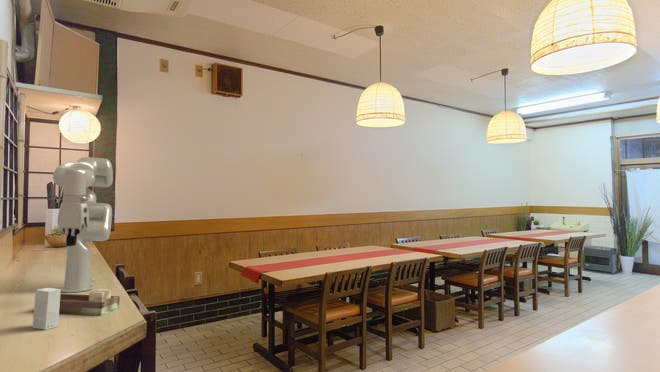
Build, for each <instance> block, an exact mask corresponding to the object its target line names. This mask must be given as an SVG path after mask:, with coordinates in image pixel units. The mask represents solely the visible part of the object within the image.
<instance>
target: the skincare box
mask: <svg viewBox="0 0 660 372" xmlns="http://www.w3.org/2000/svg"><path fill="white" fill-rule="evenodd" d="M60 294H62V292H61V289H60V288H55V287H44V288H38V289H35V296H34V307H33V316H32V317H33V318H32V329H33V328H34V329H38V330H44V331H46V330H50V329H54V328H57V327H59V319H60V314H59V307H60Z"/></svg>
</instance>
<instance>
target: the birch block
mask: <svg viewBox="0 0 660 372" xmlns="http://www.w3.org/2000/svg"><path fill="white" fill-rule="evenodd" d="M88 295H89V301H92V302H102V301H105V300H108V299H111V296H112V289H101V288H100V289H95V290H92V291H90V292H89V293H88Z"/></svg>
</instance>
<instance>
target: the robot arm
mask: <svg viewBox="0 0 660 372" xmlns="http://www.w3.org/2000/svg"><path fill="white" fill-rule="evenodd" d="M113 170H114V169H113V165H112V163H111V160H109V159H108V158H101V157H93V156H91V157H90V156H85V157H81V158H79V159H78V160H77V161H76V162H70V163H69V162H68V163H63V164H60V165H58V166H57V167H56V168H55V169H54V172H53V174H52V175H53V176H52V181H53V182H54V184H55V185H56V186H61V187H63V193H62V202H61V203H60V204H59V205H60V206H59V210H58V213H57V214H58V215H57V226H58V229H57V230H58V231H61V232H63V233H64V235H65V236H66V239H65V241H66V245H65V246H66V257H65V269H64V270H65V272H64V284H63V285H64V286H61V287H60V288H59V289H61V293H62V292H63V293H80V292H87V291H90V290H92V289H93V287H94V286H93V285H92V284H91V283H94V282H95V281H96V278H95V277H92V278H91V277H90V274H91V265H92V264H91V263H92V262H91V261H92V249H91V247H90V246H89V245H88V244H87V242H105V241H108V240H109V238H110V235H111V229H112V218H113V208H112V205H110V204H109V203H105V202H97V195H96V194H95V192H94V191H93V190H92V189H91V188H90V187H94V188H95V187H96V188H97V187H98V188H109V187H111V186H112V185H113V181H114V176H113V175H114V173H113Z"/></svg>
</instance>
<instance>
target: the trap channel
mask: <svg viewBox="0 0 660 372" xmlns="http://www.w3.org/2000/svg"><path fill="white" fill-rule="evenodd" d="M120 298H121V297H120V296H119V295H118V296H117V295H111V299H108V300H105V301H102V302H92V301H89V294H77V293H75V294H74V293H61V294H60V307H59V315H60V314H61V315H82V316H99V317H100V316H101V317H102V316H105V315H106V314H108V313H111V312H113V311H116V310H119V309H120V301H121V300H120Z"/></svg>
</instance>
